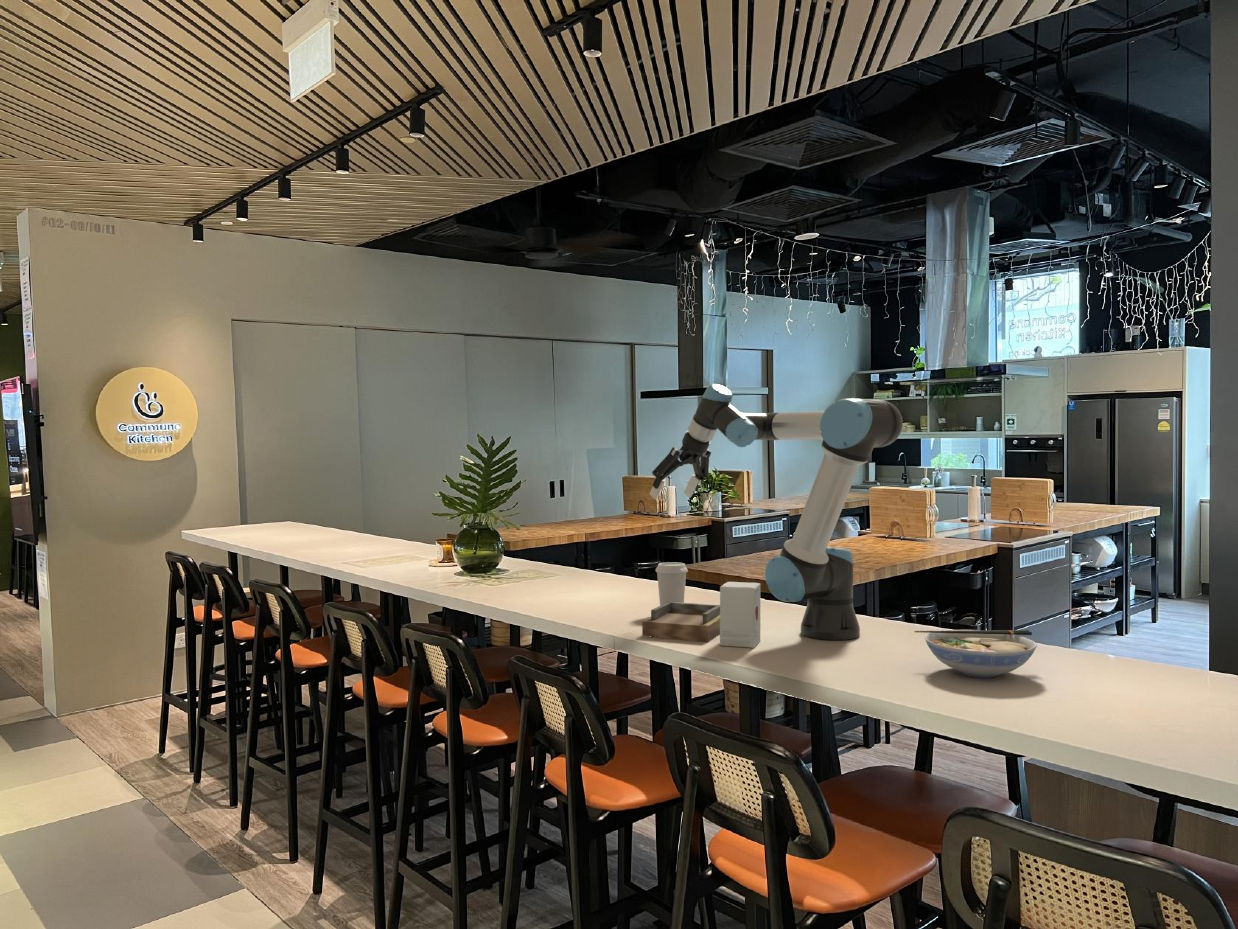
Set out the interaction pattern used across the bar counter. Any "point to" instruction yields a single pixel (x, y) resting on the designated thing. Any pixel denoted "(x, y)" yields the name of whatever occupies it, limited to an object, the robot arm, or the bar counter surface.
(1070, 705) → the bar counter surface
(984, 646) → the ramen bowl
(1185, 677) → the bar counter surface
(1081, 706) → the bar counter surface
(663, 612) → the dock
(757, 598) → the supplement box
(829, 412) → the robot arm
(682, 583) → the coffee cup
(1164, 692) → the bar counter surface
